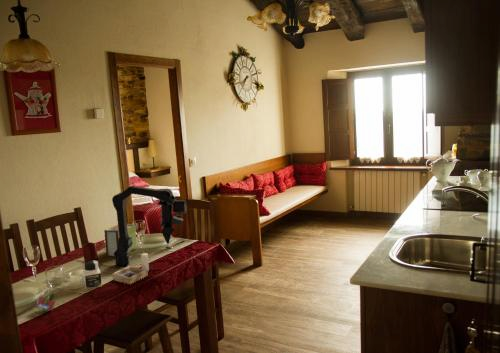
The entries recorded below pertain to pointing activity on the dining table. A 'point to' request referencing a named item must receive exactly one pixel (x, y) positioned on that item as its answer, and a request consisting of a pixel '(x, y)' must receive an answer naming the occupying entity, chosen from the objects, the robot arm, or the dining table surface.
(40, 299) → the geometric puzzle
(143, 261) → the peg
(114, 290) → the dining table surface
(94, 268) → the medicine bottle
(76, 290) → the dining table surface
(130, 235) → the protein box
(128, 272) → the crate
